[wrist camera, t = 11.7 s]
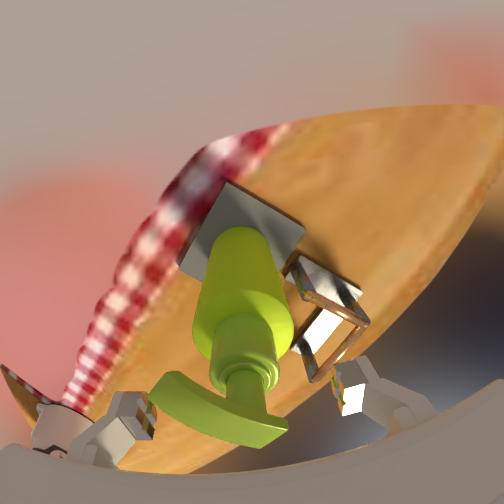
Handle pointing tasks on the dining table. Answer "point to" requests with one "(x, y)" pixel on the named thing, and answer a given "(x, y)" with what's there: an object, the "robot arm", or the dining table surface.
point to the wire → (325, 313)
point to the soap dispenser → (234, 345)
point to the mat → (241, 215)
